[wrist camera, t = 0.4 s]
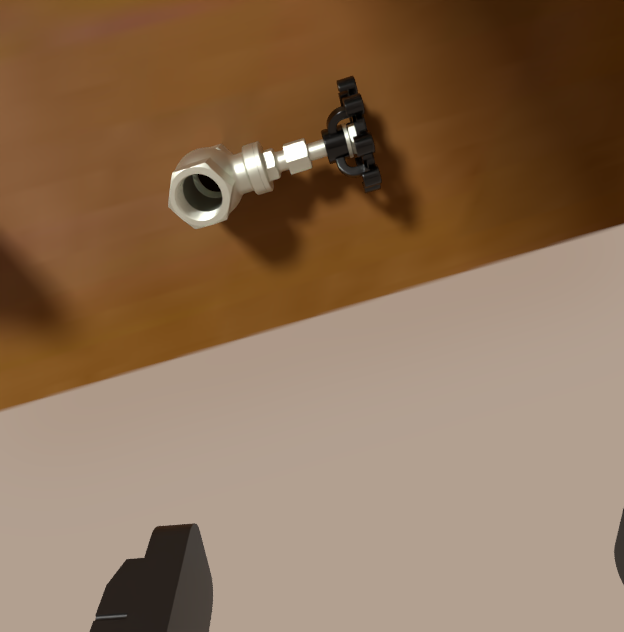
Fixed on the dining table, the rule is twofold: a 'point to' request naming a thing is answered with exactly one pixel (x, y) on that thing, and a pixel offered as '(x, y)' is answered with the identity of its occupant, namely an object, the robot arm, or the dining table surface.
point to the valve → (272, 164)
